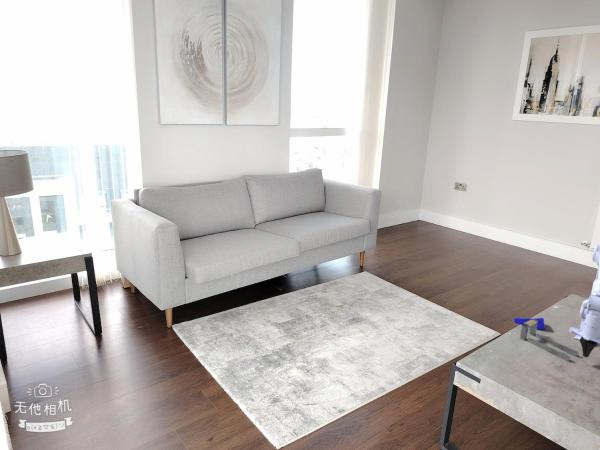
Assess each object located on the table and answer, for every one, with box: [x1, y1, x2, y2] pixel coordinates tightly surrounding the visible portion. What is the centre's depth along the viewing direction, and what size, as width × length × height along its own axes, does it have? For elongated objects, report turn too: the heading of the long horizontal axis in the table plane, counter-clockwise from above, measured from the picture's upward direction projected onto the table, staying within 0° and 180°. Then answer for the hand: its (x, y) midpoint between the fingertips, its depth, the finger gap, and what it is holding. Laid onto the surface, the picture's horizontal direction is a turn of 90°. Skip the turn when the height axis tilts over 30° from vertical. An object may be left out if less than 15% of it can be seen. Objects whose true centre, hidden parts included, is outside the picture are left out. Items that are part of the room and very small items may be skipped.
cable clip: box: [513, 317, 546, 330], centre depth 197 cm, size 12×4×6 cm
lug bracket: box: [519, 319, 538, 341], centre depth 186 cm, size 9×2×8 cm, turn 124°
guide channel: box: [527, 333, 579, 362], centre depth 178 cm, size 8×17×2 cm, turn 34°
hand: (585, 356), depth 167 cm, fingers closed
